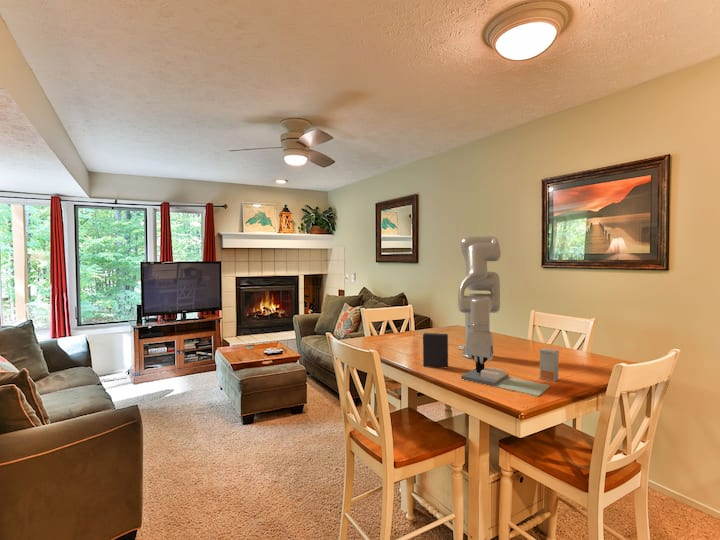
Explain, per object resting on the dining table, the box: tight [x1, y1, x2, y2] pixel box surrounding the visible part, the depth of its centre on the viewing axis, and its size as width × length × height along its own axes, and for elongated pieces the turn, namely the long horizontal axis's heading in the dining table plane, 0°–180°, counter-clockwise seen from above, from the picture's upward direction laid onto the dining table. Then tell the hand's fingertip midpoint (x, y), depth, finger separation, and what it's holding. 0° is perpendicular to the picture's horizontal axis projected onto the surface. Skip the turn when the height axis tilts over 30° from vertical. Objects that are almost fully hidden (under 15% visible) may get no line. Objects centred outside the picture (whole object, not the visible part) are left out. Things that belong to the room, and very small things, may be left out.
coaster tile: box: [481, 366, 506, 380], centre depth 156 cm, size 7×7×2 cm
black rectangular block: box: [422, 332, 449, 368], centre depth 177 cm, size 11×4×15 cm, turn 74°
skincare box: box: [539, 347, 560, 382], centre depth 156 cm, size 6×4×12 cm
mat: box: [494, 376, 551, 397], centre depth 148 cm, size 16×14×1 cm
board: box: [460, 368, 510, 387], centre depth 158 cm, size 14×14×2 cm
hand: (480, 372), depth 159 cm, fingers closed
